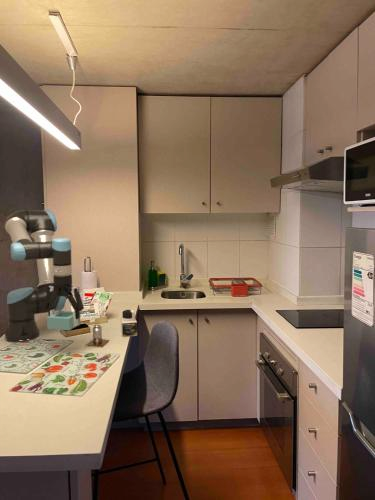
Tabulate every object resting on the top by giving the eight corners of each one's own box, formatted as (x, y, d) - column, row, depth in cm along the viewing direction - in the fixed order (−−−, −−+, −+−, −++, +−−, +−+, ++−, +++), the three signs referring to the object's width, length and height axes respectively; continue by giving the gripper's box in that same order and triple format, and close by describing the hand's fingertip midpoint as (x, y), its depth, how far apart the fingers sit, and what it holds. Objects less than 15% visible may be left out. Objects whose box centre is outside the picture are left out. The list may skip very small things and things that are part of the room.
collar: (47, 328, 156) (47, 317, 155) (59, 321, 166) (59, 310, 165) (69, 330, 154) (69, 318, 154) (80, 323, 164) (80, 312, 163)
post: (85, 346, 167) (85, 327, 166) (93, 340, 174) (92, 322, 174) (102, 347, 165) (101, 328, 164) (109, 341, 173) (108, 323, 172)
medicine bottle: (122, 337, 178) (121, 312, 177) (121, 332, 185) (120, 309, 184) (137, 335, 180) (136, 311, 179) (135, 331, 187) (134, 308, 186)
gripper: (33, 275, 155) (35, 326, 158) (83, 277, 152) (84, 329, 154) (43, 272, 163) (45, 320, 166) (91, 274, 159) (92, 324, 162)
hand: (64, 325), depth 160 cm, fingers closed on collar, 10 cm apart
